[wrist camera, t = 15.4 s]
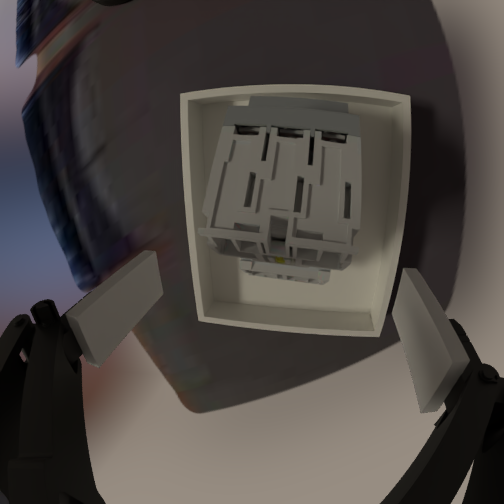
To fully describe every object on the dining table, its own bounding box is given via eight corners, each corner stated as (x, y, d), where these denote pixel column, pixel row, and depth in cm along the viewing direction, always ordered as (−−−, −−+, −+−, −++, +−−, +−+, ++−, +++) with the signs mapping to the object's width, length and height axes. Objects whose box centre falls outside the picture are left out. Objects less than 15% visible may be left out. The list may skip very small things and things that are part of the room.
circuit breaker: (333, 157, 28) (352, 54, 14) (323, 285, 26) (358, 258, 11) (268, 150, 30) (246, 47, 15) (248, 274, 27) (196, 238, 13)
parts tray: (198, 99, 27) (180, 93, 22) (396, 102, 22) (410, 95, 18) (210, 301, 36) (198, 320, 32) (373, 315, 32) (379, 336, 28)
